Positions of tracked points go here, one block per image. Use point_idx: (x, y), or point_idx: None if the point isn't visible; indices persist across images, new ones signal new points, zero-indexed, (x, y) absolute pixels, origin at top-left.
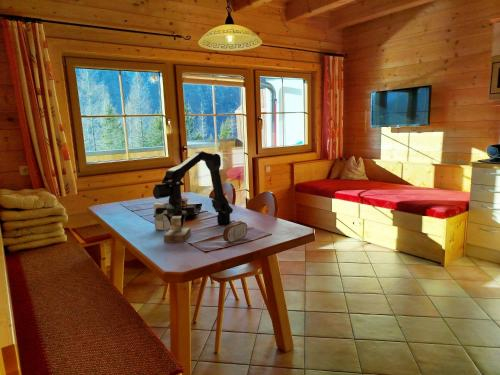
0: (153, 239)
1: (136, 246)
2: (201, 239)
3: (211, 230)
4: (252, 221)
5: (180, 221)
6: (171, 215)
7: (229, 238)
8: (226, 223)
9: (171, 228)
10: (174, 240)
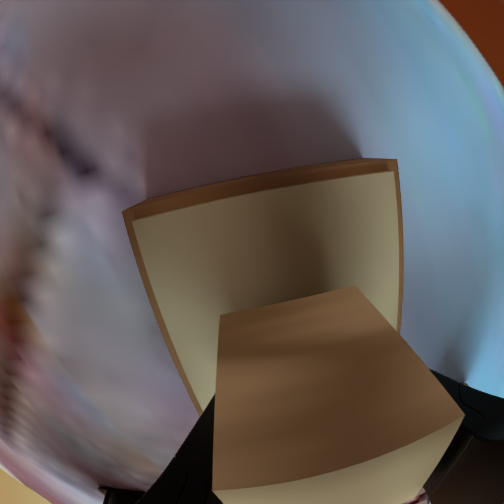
0: (461, 216)
1: (484, 64)
2: (52, 291)
3: (118, 447)
4: (60, 491)
5: (220, 433)
6: (447, 491)
7: None
8: (112, 494)
9: (367, 299)
10: (258, 174)
